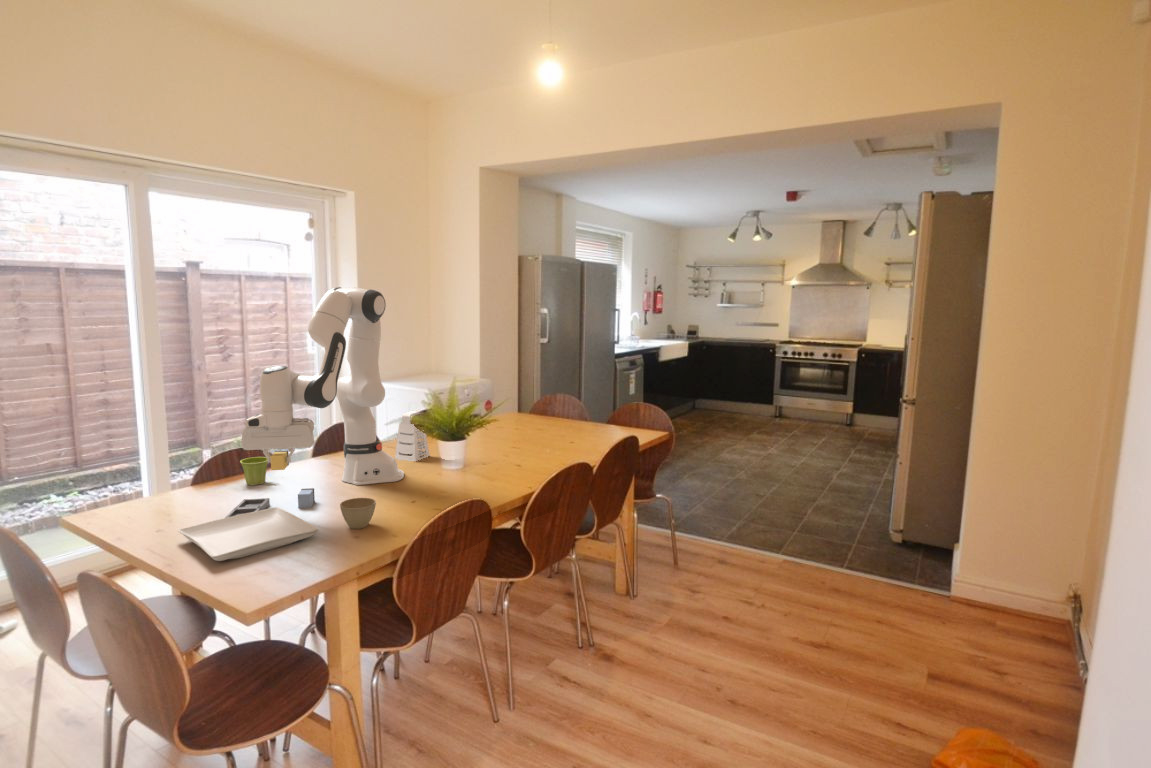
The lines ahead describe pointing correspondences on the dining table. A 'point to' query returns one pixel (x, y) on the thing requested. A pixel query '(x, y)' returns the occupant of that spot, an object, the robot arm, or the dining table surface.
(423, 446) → the grater
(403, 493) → the dining table surface
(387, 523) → the dining table surface
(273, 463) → the yellow block
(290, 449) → the robot arm
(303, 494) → the plug slate
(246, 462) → the plant pot
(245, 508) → the grey flat frame
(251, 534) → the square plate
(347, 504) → the flower pot
